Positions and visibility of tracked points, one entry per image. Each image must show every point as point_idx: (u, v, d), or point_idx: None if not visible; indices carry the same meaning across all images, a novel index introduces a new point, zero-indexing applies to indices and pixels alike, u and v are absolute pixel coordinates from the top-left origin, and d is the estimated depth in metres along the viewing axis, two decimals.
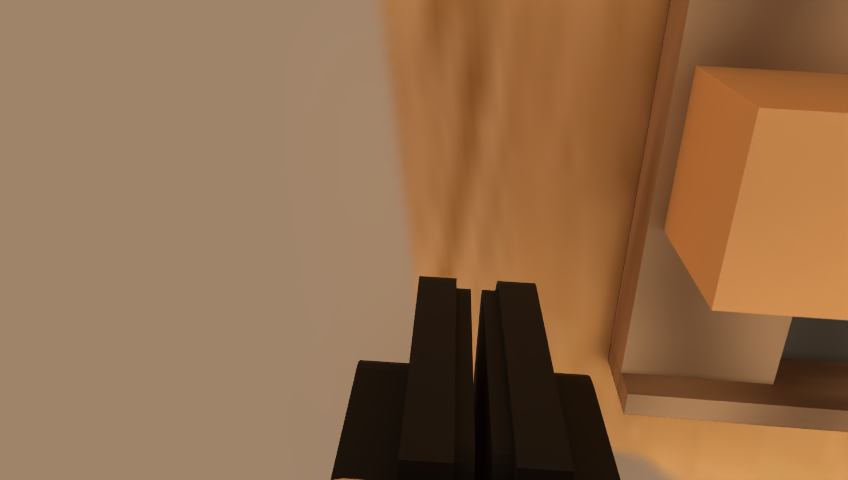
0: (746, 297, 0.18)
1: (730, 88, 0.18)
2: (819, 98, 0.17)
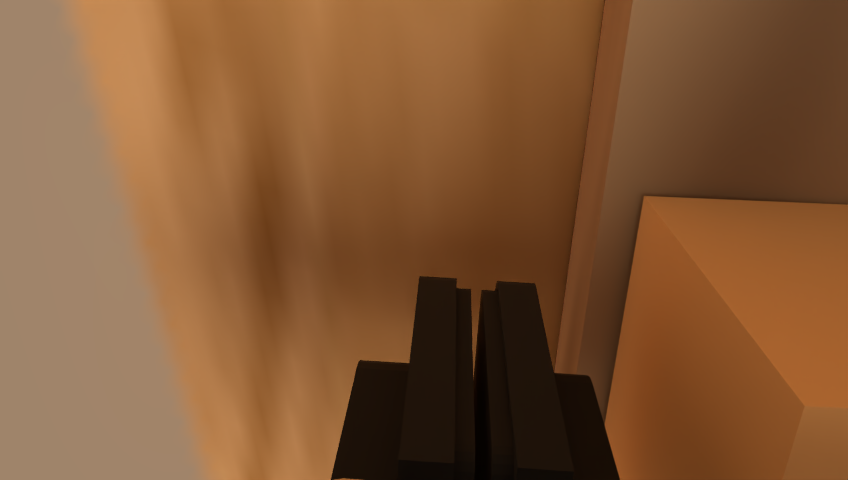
0: None
1: (719, 292, 0.08)
2: None
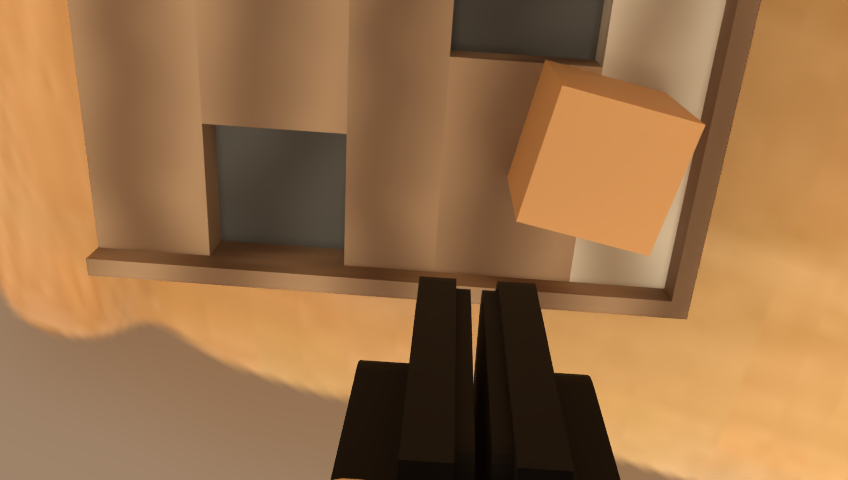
0: (539, 216, 0.26)
1: (555, 74, 0.26)
2: (608, 91, 0.26)
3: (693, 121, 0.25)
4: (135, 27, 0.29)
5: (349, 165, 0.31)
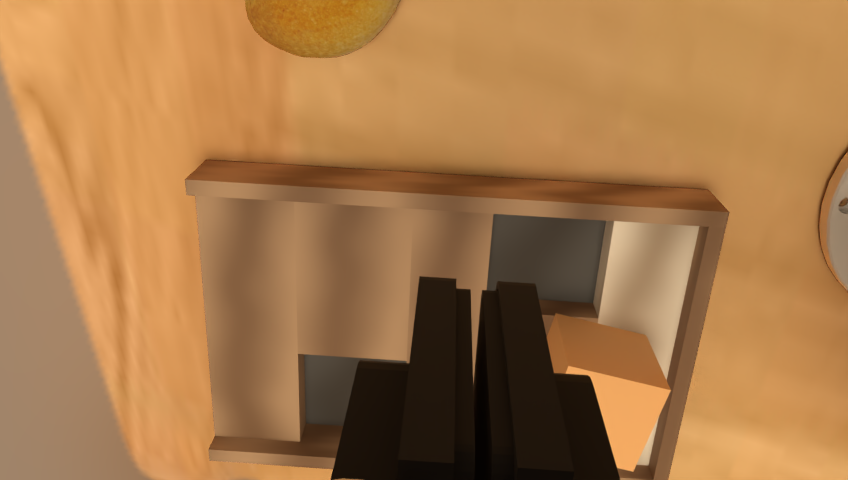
0: None
1: (563, 343, 0.36)
2: (601, 358, 0.36)
3: (662, 387, 0.34)
4: (251, 291, 0.39)
5: None
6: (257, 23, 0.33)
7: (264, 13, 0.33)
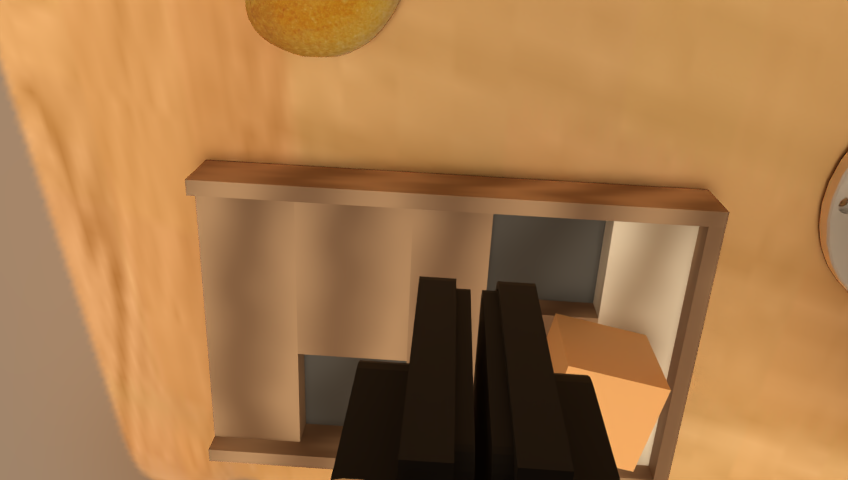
0: None
1: (563, 343, 0.36)
2: (601, 358, 0.36)
3: (662, 387, 0.34)
4: (250, 291, 0.39)
5: None
6: (257, 22, 0.33)
7: (264, 13, 0.33)
